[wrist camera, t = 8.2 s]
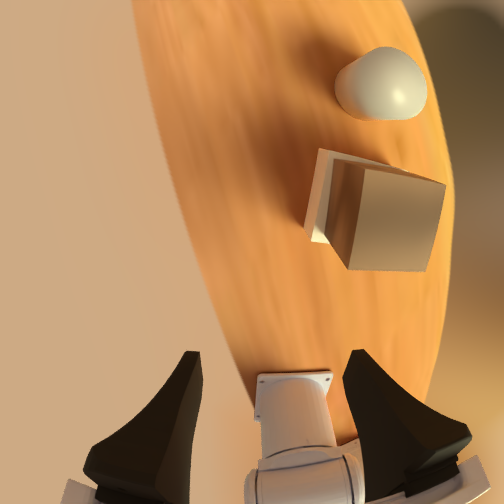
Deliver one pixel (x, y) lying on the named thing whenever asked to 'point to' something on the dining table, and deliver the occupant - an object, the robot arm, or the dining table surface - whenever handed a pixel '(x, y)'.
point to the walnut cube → (382, 217)
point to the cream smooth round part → (381, 86)
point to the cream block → (325, 192)
